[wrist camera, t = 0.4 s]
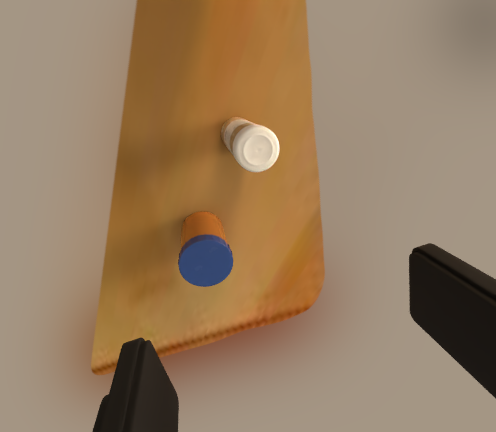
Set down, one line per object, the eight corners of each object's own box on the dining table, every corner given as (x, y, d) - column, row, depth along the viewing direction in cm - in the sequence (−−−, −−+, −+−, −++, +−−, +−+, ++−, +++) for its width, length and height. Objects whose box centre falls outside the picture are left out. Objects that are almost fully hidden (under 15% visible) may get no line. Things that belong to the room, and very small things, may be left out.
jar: (177, 215, 43) (175, 244, 35) (219, 208, 44) (227, 235, 36) (185, 251, 46) (185, 287, 38) (225, 244, 47) (233, 277, 38)
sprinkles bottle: (248, 152, 42) (274, 176, 30) (217, 146, 41) (231, 169, 28) (255, 119, 40) (285, 131, 28) (223, 112, 39) (240, 121, 27)
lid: (173, 238, 36) (173, 245, 34) (228, 229, 37) (230, 235, 35) (183, 283, 39) (183, 291, 37) (234, 274, 40) (236, 281, 38)
